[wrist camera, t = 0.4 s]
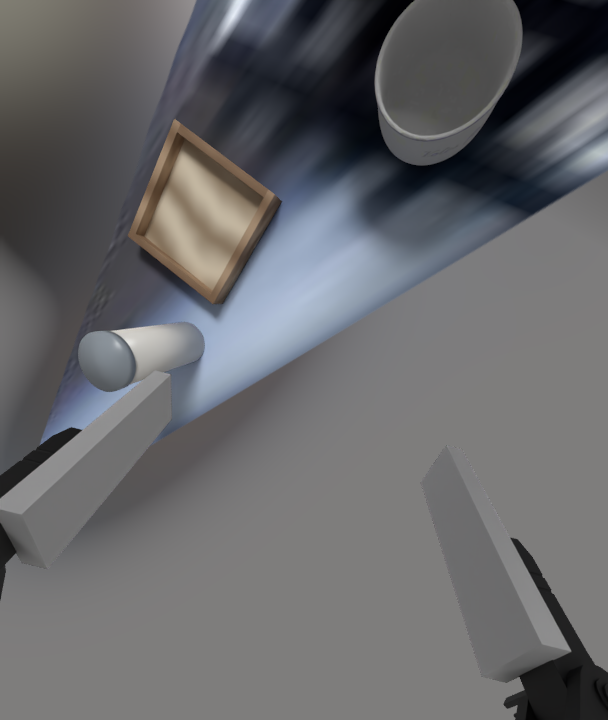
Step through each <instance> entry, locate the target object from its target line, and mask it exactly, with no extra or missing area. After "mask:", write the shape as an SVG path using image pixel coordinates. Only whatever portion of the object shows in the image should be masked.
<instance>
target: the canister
mask: <svg viewBox="0 0 608 720" xmlns="http://www.w3.org/2000/svg"><path fill="white" fill-rule="evenodd" d="M204 348H205V343H204V338H203V335H202V333H201V332H200V330H199V329H198V328H197V327H196V326H195V325H193V324H191V323H188V322H179V323H171V324H163V325H155V326H147V327H139V328H131V329H124V330H116V331H96V332H91V333H89V334H87V335H86V336H84V338H83V339H82V341H81V342H80V345H79V350H78V357H79V363H80V366H81V369H82V371H83V373H84V375H85V376H86V378H87V379H88V380H89V381H90V383H91V384H93V385H94V386H95V387H97V388H98V389H100V390H103V391H106V392H113V391H117V390H119V389H122V388H125V387H127V386H128V385H129V384H132V383H135V382H138V381H141V380H144V379H145V378H146V377H147V376H149V375H150V374H151V373H152V372H153V371H159V372H166V371H169V370H172V369H175V368H178V367H180V366H183V365H186V364H189V363H192V362H194V361H197V360H198V359H199V358H200V357H201V356H202V354H203V352H204Z"/></svg>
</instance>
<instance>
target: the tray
mask: <svg viewBox="0 0 608 720" xmlns="http://www.w3.org/2000/svg"><path fill="white" fill-rule="evenodd" d="M281 202H282V201H281V200H280V199H279V198H278V197H277V196H276V195H275V194H273V193H272V192H271V191H269V190H268V189H267V188H265V187H264V186H263V185H261V184H260V183H259V182H257V181H256V180H255V179H254V178H252V177H251V176H250V175H248V174H247V173H246V172H244V171H243V170H242V169H240V168H239V167H238V166H236V165H235V164H234V163H232V162H231V161H230V160H228V159H227V158H226V157H224V156H223V155H222V154H220V153H219V152H218V151H216V150H215V149H214V148H212V147H211V146H210V145H208V144H207V143H206V142H204V141H203V140H202V139H200V138H199V137H198V136H196V135H195V134H194V133H192V132H191V131H190V130H188V129H187V128H186V127H184V126H183V125H182V124H180V123H179V122H178V121H176V120H175V119H174V121H173V124H172V126H171V129H170V131H169V134H168V136H167V139H166V141H165V144H164V146H163V149H162V151H161V154H160V156H159V159H158V161H157V164H156V167H155V169H154V172H153V174H152V177H151V179H150V182H149V184H148V187H147V189H146V192H145V194H144V197H143V199H142V202H141V204H140V207H139V209H138V212H137V214H136V217H135V219H134V222H133V224H132V227H131V229H130V232H129V234H128V237H130V238H131V239H132V240H133V241H135V242H136V243H137V244H138V245H140V246H141V247H142V248H143V249H145V250H146V251H147V252H148V253H150V254H151V255H152V256H153V257H155V258H156V259H157V260H158V261H160V262H161V263H162V264H163V265H165V266H166V267H167V268H168V269H170V270H171V271H172V272H173V273H175V274H176V275H177V276H178V277H180V278H181V279H182V280H183V281H185V282H186V283H187V284H188V285H190V286H191V287H192V288H193V289H195V290H196V291H197V292H198V293H200V294H201V295H202V296H203V297H205V298H206V299H207V300H208V301H210V302H211V303H212V304H223V302H224V301H225V299H226V297H227V295H228V294H229V292H230V290H231V288H232V287H233V285H234V283H235V281H236V280H237V278H238V276H239V275H240V273H241V271H242V269H243V268H244V266H245V264H246V262H247V261H248V259H249V257H250V256H251V254H252V252H253V250H254V249H255V247H256V245H257V243H258V242H259V240H260V238H261V236H262V235H263V233H264V231H265V230H266V228H267V226H268V224H269V223H270V221H271V219H272V217H273V216H274V214H275V212H276V211H277V209H278V207H279V205H280V204H281Z"/></svg>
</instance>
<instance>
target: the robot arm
mask: <svg viewBox="0 0 608 720" xmlns="http://www.w3.org/2000/svg"><path fill="white" fill-rule="evenodd" d="M171 419H172V410H171V374H167V373H163V372H159V371H153V372H152V373H151V374H150V375H149V376H147V377H146V378H145V379H144V380H143V381H141V382H140V383H139V384H138V385H137V386H135V387H134V388H133V389H132V390H131V391H129V392H128V393H127V394H126V395H124V396H123V397H122V398H121V399H120V400H118V401H117V402H116V403H115V404H114V405H112V406H111V407H110V408H109V409H108V410H106V411H105V412H104V413H103V414H102V415H100V416H99V417H98V418H97V419H96V420H94V421H93V422H92V423H91V424H90V425H88V426H87V427H86V428H85V429H84V430H80V429H76V428H72V427H71V428H69V429H66V430H64V431H62V432H60V433H58V434H56V435H53V436H52V437H50V438H49V439H48V440H47V441H45V442H44V443H43V444H41V445H40V446H39V447H37V449H36V450H35V451H32V452H31V453H29V454H28V455H27V456H25V457H24V458H23V460H22V461H19V462H18V463H16V464H15V465H14V466H12V467H11V468H10V469H8V470H7V471H6V472H4V473H3V474H2V475H1V476H0V599H1V593H2V588H3V583H4V578H5V573H6V569H5V564H6V563H7V562H8V561H9V560H10V559H11V558H12V556H13V555H14V554H15V553H16V554H17V556H18V557H19V559H20V561H21V562H22V563H24V564H28V565H32V566H36V567H40V568H44V569H48V568H49V567H50V566H51V564H52V563H53V562H54V561H55V560H56V558H57V557H58V556H59V555H60V554H61V552H62V551H63V550H64V549H65V548H66V546H67V545H68V544H69V543H70V541H71V540H72V539H73V538H74V537H75V535H76V534H77V533H78V532H79V531H80V529H81V528H82V527H83V526H84V525H85V523H86V522H87V521H88V520H89V519H90V517H91V516H92V515H93V514H94V512H95V511H96V510H97V509H98V508H99V506H100V505H101V504H102V503H103V502H104V500H105V499H106V498H107V497H108V496H109V494H110V493H111V492H112V491H113V490H114V488H115V487H116V486H117V485H118V483H119V482H120V481H121V480H122V479H123V477H124V476H125V475H126V474H127V473H128V471H129V470H130V469H131V468H132V467H133V465H134V464H135V463H136V462H137V461H138V459H139V458H140V457H141V456H142V454H143V453H144V452H145V451H146V450H147V448H148V447H149V446H150V445H151V444H152V442H153V441H154V440H155V439H156V438H157V436H158V435H159V434H160V433H161V432H162V430H163V429H164V428H165V427H166V425H167V424H168V423H169V422H170V421H171ZM421 486H422V489H423V492H424V495H425V498H426V501H427V505H428V508H429V511H430V514H431V517H432V520H433V524H434V527H435V530H436V533H437V536H438V540H439V543H440V546H441V549H442V552H443V555H444V559H445V561H446V565H447V568H448V571H449V574H450V578H451V580H452V584H453V587H454V590H455V593H456V597H457V600H458V603H459V606H460V609H461V613H462V616H463V619H464V622H465V625H466V628H467V631H468V635H469V638H470V641H471V644H472V647H473V651H474V654H475V657H476V660H477V663H478V667H479V670H480V673H481V676H482V677H485V678H489V679H493V680H497V681H501V682H505V683H507V682H509V681H511V680H513V679H515V678H517V677H520V679H521V682H522V684H523V686H524V689H525V690H524V691H522V692H519V693H517V694H515V695H512V696H510V697H508V698H506V700H505V702H504V706H505V707H506V708H511V707H513V706H516V705H518V707H517V713H515V714H514V717H515V718H516V719H515V720H608V673H607V672H606V671H605V670H603V669H602V668H601V667H599V666H596V665H595V664H594V662H593V661H592V659H591V658H590V656H589V654H588V653H587V651H586V649H585V648H584V646H583V644H582V642H581V641H580V639H579V637H578V636H577V634H576V632H575V630H574V628H573V627H572V625H571V624H570V622H569V620H568V618H567V617H566V615H565V613H564V611H563V609H562V608H561V606H560V604H559V603H558V601H557V599H556V597H555V595H554V594H552V593H551V589H550V587H549V585H548V584H547V582H546V580H545V578H543V577H542V573H541V571H540V569H539V568H538V566H537V564H536V563H535V561H534V559H533V557H532V556H531V555H530V554H529V553H528V551H527V550H526V549H525V548H524V546H523V545H522V544H521V543H520V542H519V541H518V540H517V539H514V538H510V537H509V535H508V533H507V531H506V529H505V528H504V526H503V524H502V522H501V520H500V518H499V516H498V515H497V513H496V511H495V509H494V507H493V505H492V504H491V502H490V500H489V498H488V496H487V494H486V492H485V491H484V489H483V487H482V485H481V483H480V481H479V480H478V478H477V476H476V474H475V472H474V470H473V468H472V467H471V465H470V463H469V461H468V460H467V457H466V455H465V454H464V452H463V450H462V449H460V448H456V447H452V446H448V445H446V446H445V448H444V449H443V450H442V452H441V454H440V455H439V456H438V458H437V459H436V461H435V462H434V464H433V465H432V467H431V468H430V470H429V471H428V473H427V474H426V476H425V477H424V478H423V480H422V481H421Z"/></svg>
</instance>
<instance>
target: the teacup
mask: <svg viewBox="0 0 608 720" xmlns="http://www.w3.org/2000/svg"><path fill="white" fill-rule="evenodd" d="M522 35H523V31H522V20H521V18H520V13H519V10H518V8H517V6H516V4H515V3H514V1H513V0H414V1H413V2H412V3H411V4H410V5H409V6H408V7H407V8H406V9H405V11H404V12H403V13H402V14H401V15H400V16H399V17H398V19H397V20H396V22H395V23H394V25H393V26H392V28H391V29H390V31H389V33H388V34H387V36H386V38H385V40H384V43H383V45H382V48H381V51H380V54H379V57H378V61H377V65H376V71H375V95H376V101H377V104H378V114H379V122H380V128H381V132H382V135H383V138H384V141H385V143H386V145H387V146H388V148H389V149H390V151H391V152H392V153H393V154H394V155H395V156H396V157H397V158H399V159H400V160H402V161H404V162H406V163H409V164H413V165H431V164H435V163H438V162H441V161H444V160H446V159H448V158H450V157H451V156H453V155H454V154H456V153H457V152H459V151H460V150H461V149H463V148H464V147H465V146H466V145H467V144H468V143H469V142H470V141H471V140H472V139H473V138H474V137H475V135H476V134H477V133H478V132H479V130H480V129H481V128H482V126H483V125H484V123H485V122H486V120H487V119H488V117H489V115H490V114H491V112H492V110H493V109H494V107H495V105H496V103H497V101H498V100H499V99H500V97H501V96H502V95H503V93H504V91H505V89H506V88H507V86H508V84H509V82H510V80H511V79H512V76H513V74H514V72H515V69H516V66H517V64H518V61H519V57H520V53H521V48H522Z"/></svg>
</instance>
